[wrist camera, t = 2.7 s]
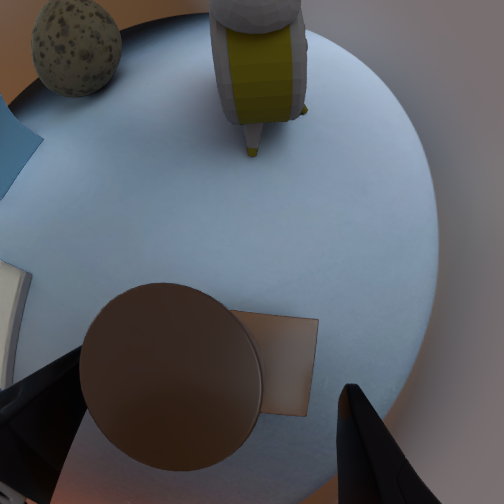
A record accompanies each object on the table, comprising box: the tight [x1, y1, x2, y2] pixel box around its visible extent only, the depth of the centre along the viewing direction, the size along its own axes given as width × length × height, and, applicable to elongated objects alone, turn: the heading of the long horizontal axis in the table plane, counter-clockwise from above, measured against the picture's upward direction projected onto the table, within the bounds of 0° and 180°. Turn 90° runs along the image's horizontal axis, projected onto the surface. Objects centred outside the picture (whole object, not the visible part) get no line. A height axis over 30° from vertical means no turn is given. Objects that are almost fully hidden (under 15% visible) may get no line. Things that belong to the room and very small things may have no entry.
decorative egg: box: [31, 0, 122, 97], centre depth 21 cm, size 11×11×15 cm
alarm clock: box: [209, 0, 308, 157], centre depth 17 cm, size 12×7×15 cm, turn 3°
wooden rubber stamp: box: [79, 283, 319, 471], centre depth 11 cm, size 5×8×14 cm, turn 83°
